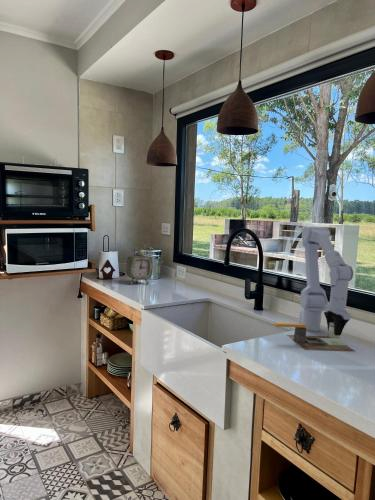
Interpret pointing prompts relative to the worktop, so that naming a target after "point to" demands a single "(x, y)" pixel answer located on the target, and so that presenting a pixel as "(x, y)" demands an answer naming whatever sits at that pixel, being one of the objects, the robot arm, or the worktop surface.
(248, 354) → the worktop surface
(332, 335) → the plug
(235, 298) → the worktop surface
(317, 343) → the board
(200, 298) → the worktop surface
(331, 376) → the worktop surface
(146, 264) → the tabletop clock
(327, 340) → the sage mat
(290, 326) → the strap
